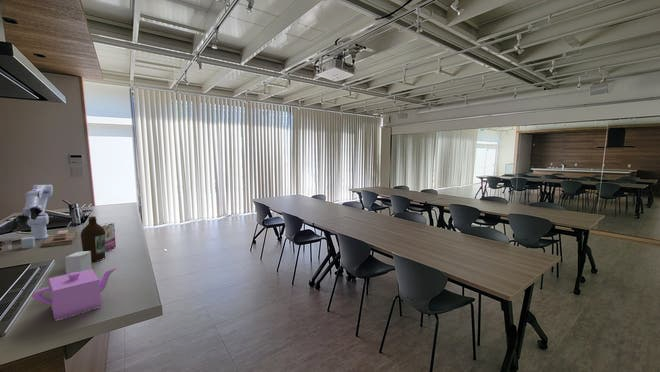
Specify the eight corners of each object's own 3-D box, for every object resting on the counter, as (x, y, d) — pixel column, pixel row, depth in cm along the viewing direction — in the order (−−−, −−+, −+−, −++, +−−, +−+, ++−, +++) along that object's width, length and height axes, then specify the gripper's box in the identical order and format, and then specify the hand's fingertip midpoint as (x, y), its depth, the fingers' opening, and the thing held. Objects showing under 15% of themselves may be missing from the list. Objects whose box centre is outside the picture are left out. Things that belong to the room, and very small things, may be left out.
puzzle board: (50, 237, 193) (49, 231, 193) (76, 235, 202) (76, 229, 201) (42, 247, 174) (42, 240, 174) (72, 243, 183) (71, 237, 182)
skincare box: (81, 288, 123) (79, 256, 121) (66, 289, 122) (63, 257, 120) (93, 280, 131) (91, 250, 130) (78, 280, 130) (76, 250, 128)
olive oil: (77, 262, 151) (74, 218, 149) (92, 255, 162) (90, 214, 159) (96, 263, 151) (94, 219, 149) (111, 256, 162) (109, 215, 160)
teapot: (123, 301, 113) (121, 268, 112) (34, 328, 94) (31, 289, 93) (114, 289, 123) (112, 259, 122) (32, 311, 104) (29, 276, 103)
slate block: (23, 246, 174) (23, 237, 174) (35, 245, 177) (34, 236, 177) (21, 248, 170) (20, 239, 170) (33, 247, 173) (32, 238, 173)
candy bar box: (108, 247, 178) (107, 222, 176) (116, 247, 178) (114, 222, 176) (93, 252, 167) (91, 226, 165) (101, 253, 167) (100, 227, 165)
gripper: (14, 208, 177) (10, 225, 170) (34, 197, 177) (30, 214, 170) (27, 212, 183) (24, 229, 176) (46, 202, 183) (43, 218, 176)
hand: (28, 222), depth 173 cm, fingers open, 7 cm apart
